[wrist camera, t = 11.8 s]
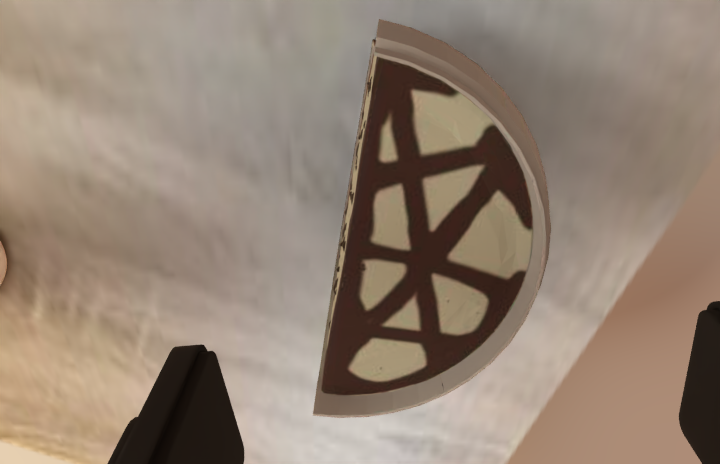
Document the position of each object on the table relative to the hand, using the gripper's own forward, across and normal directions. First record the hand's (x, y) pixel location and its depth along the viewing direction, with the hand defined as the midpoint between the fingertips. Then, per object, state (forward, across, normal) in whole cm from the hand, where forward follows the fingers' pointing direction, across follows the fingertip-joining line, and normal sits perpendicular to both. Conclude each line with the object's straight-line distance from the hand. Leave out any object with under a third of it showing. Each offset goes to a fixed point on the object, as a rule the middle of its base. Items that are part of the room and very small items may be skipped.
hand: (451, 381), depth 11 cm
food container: (+15, -1, +1) cm, 15 cm away
